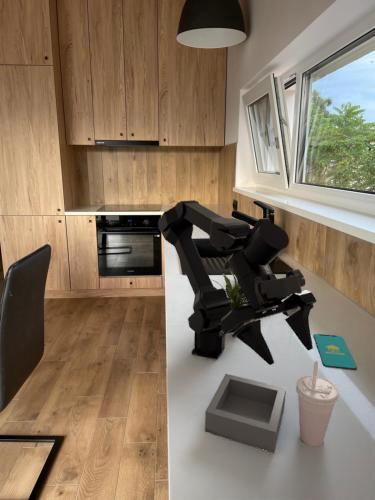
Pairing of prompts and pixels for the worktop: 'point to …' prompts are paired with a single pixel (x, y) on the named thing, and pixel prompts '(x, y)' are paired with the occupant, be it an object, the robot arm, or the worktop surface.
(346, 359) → the smartphone
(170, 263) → the worktop surface
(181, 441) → the worktop surface
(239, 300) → the house plant
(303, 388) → the smoothie
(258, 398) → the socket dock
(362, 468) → the worktop surface
